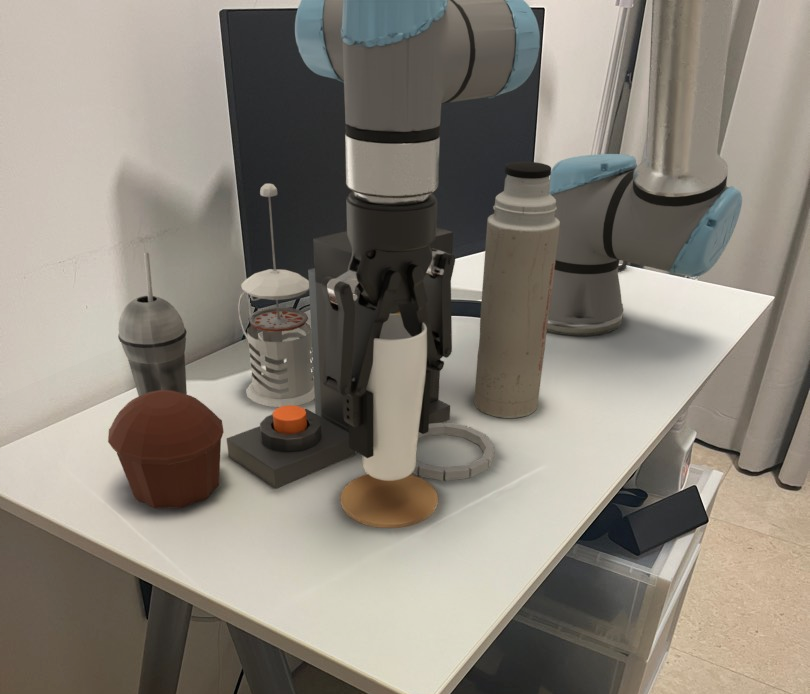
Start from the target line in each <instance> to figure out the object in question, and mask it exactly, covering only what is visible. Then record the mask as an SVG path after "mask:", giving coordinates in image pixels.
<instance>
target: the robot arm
mask: <svg viewBox="0 0 810 694" xmlns="http://www.w3.org/2000/svg"><path fill="white" fill-rule="evenodd" d="M651 5H652V6H651V27H650V29H651V30H650V49H649V51H650V53H649V56H650V57H649V73H648V75H649V76H648V77H649V79H648V82H649V83H648V100H647V101H648V102H647V123H646V129H647V130H646V147H645V158H644V159H643V160H642V161H641V162H640V163H639V164H638V163H637V159H636V157H635V156H633V155H629V154H625V153H624V154H622V153H601V154H598V153H597V154H588V155H577V156H572V157H568V158H563V159H561V160H560V161H557V162H556V163H555V164H554V165H553V166H552V167H551V175H550V176H549V180H550V189H549V194H550V195H552V196H553V197H554V198H555V199H556V208H557V210H556V211H555V215H554V217H555V218H557V219H558V220H559V221H560V228H559V236H558V244H557V252H556V260H555V269H554V277H553V285H552V293H551V301H550V309H549V316H548V323H547V332H549V333H555V334H560V335H565V336H566V335H567V336H596V335H603V334H606V333H611V332H613V331H615V330H616V329H618V328H619V327H620V326H621V325H622V321H623V315H624V305H623V300H622V292H621V285H620V278H619V271H621V270H623V269H625V268H626V267H627V265H628V263H631V264H635V265H638V266H643V267H648V268H651V269H656V270H660V271H665V272H667V273H668V272H669V275H681V276H685V277H692V278H697V277H701V276H703V275H705V274H706V273H708V272H709V271H710V270H711V269H712V268H713V267H714V266H715V265H716V264H717V262H718V261H719V259H720V258H721V256H722V255H723V253H724V252H725V250H726V248H727V246H728V244H729V243H730V240H731V238H732V236H733V234H734V232H735V229H736V226H737V223H738V221H739V217H740V213H741V209H742V207H743V195H742V192H741V190H739V188H736V187H735V186H733V185H730V186H727V181H728V173H729V166H728V164H727V161H726V160H725V159H724V158H722V156H721V155H719V154H718V150H719V149H718V147H719V138H720V130H721V121H722V112H723V101H724V92H725V83H726V73H727V65H728V63H727V62H728V55H729V44H730V36H731V27H732V26H731V25H732V19H733V9H734V8H733V7H734V0H652V4H651ZM540 35H541V34H540V29H539V23H538V20H537V18H536V15H535V13H534V12H533V10H532V8H531V6H530V5H529V4H528V3H527V2H526V1H525V0H300V2H299V5H298V7H297V10H296V14H295V21H294V36H295V43H296V46H297V49H298V53H299V54H300V57H301V59H302V61H303V63H304V64H305V65H306V67H307V68H308V69H309V70H310V71H312V72H313V73H314V74H316V75H317V76H318V75H319V76H321V77H325V78H329V79H333V80H337V81H339V82H342V84H343V93H344V115H345V117H344V118H345V119H344V120H345V122H344V123H345V124H344V125H345V126H344V127H345V134H344V136H345V137H344V138H345V144H344V145H345V184H346V186H347V188H348V189H350V190H351V192H350V193H349V194H348V196H346V198H345V200H346V202H345V203H346V231H347V236H348V239H349V241H350V244H351V246H352V257H351V261H350V263H349V266H348V271H347V272H346V273H344V274H342V275H341V276H339V277H337V278H335V279H334V278H332V277H329V276H327V277H325V278H324V279H323V280H322V284H321V285H322V290H323V294H324V298H325V302H326V324H325V349H324V374H323V384H324V385H325V386H326V387H328V388H330V389H332V390H334V391H335V392H337V393H339V394H341V395H343V412H344V413H343V418H344V420H345V422H346V423H348V424H349V448H351V449H352V450H354V451H356V453H357V454H359V455H361V456H362V455H363V456H364V457H366V458H370V457H372V456H373V393H372V392H370V391H368V390H366V389H367V385H368V381H369V377H370V373H371V369H372V365H373V349H374V339H375V338H377V339H379V337H380V333H381V329H382V325H383V323H384V322H386V321H387V320H388V318H389V315H390V311H391V308H392V307H394V306H395V305H397V304H398V307H399V310H400V314H401V318H402V321H403V325H404V328H405V329H406V330H407V332H408V333H409V334H410V335H411V336H412V337H414V336H416V335H418V334H420V333H421V332H422V323H425V325H426V327H427V366H426V377H425V385H424V393H423V401H422V409H421V417H420V425H419V432H420V433H422V434H425V433H427V432H428V429H429V405H430V397H431V396H432V394H433V391H434V386H433V385H434V370H436V371H440V372H441V371H442V370H443V368H444V366H445V361H444V360H441V359H442V358H449V357H450V356H451V355H452V352H453V331H452V330H453V328H452V327H453V325H452V321H453V320H452V278H453V273H454V269H455V263H456V256H455V255H454V254H453V253H452V254H449V253H446V252H443V251H440V250H437V249H434V248H432V249H431V248H430V244H431V243H432V242H433V241H434V240H435V237H436V227H437V223H438V221H437V220H438V219H437V217H438V199H437V197H436V196H435V195H434V192H435V191H436V190H437V189H438V188H439V171H440V143H441V142H440V141H441V118H442V117H441V115H442V105H444V104H449V103H453V102H454V103H455V102H462V101H469V100H476V99H482V98H483V99H484V98H487V99H494V98H496V97H497V96H500V95H502V94H507V93H509V92H512V91H514V90H516V89H517V88H519V87H520V86H522V85H524V83H525V82H526V81H527V80H528V79H529V77H530V76H531V74H532V72H533V70H534V69H535V66H536V64H537V61H538V59H539V52H540V48H541V47H540V42H541V41H540V40H541V39H540V38H541V37H540ZM620 261H622V264H620ZM356 287H357V292H356V294H355V288H356ZM368 303H369V304H371V305H374V306H376V307H377V308H376V309H375V308H373V307H371V306H369V304H368ZM438 338H440V341H438ZM353 378H355V379H353Z"/></svg>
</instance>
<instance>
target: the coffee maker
mask: <svg viewBox="0 0 810 694" xmlns="http://www.w3.org/2000/svg"><path fill="white" fill-rule="evenodd" d="M312 240H313V258H314V259H313V261H314V264H313V265H314V267H313V268H309V269H308V270H307V272H308V273H307V274H308V281H309V290H308V295H309V310H310V311H309V312H310V315H309V316H310V328H311V335H312V348H311V349H312V354H313V357H312V360H313V374H314V376H313V379H314V394H315V399H314V411H315V412H314V413H315V414H316V415H318V416H320V417H322V418H323V419H325V420H327V421H329V422H331V423H332V424H334V425H336V426H338V427H339V428H341V429H343V430H345V431H346V432H348V433H349V424H348V423H346V422H345V420H344V418H343V413H344V412H343V395H341V394H339V393H337V392H335V391H334V390H332V389H330V388H328V387H326V386H325V385H324V384H323V374H324V349H325V324H326V302H325V298H324V294H323V290H322V285H321V284H322V280H323V279H324V278H325V277H327V276H329V277H332V278H334V279H335V278H337V277H339V276H341V275H342V274H344V273H346V272H347V271H348V266H349V263H350V261H351V257H352V246H351V244H350V241H349V239H348V236H347V230H345V231H341V232H337V233H332V234H327V235H324V236H319V237H315V238H313V239H312ZM453 243H454V232H453V231H450V230H448V229H444V228H441V227H438V226H436V237H435V240H434V241H433V242H432V243H431V244H430V248H431V249H432V248H434V249H437V250H440V251H443V252H446V253H449V254H452V255H453V246H454V245H453ZM356 292H357V287H356V288H355V294H356ZM368 304H369V303H368ZM369 306H371V307H373V308H375V309H376V308H377V307H376V306H374V305H371V304H369ZM390 314H400V310H399V307H398V304H397V305H395V306H394V307H392V308H391V311H390ZM438 341H440V338H438ZM440 378H441V370H440V371H436V370H434V385H433V386H434V391H433V394H432V396H431V397H430V405H429V429H428V432H427V433H425V434H422V433H420V432H419V433H418V440H419V439H421V438H424V437H430V436H440V435H446V436H452V437H456V438H457V437H458V438H463V439H466V440H468V441H470V442H472V443H474V444H476V445H478V446H479V448H480V449H481V451H482V455H481V457H480V458H478V459H476V460H473V461H472V462H470V463H468V464H465V465H455V466H446V467H445V466H440V465H439V466H438V465H434V464H433V465H432V464H427V463H423V462H421V461H419V460H417V459H416V466H415V469H414V471H413V472H412V475H414V476H418V477H419V478H425V479H432V480H436V481H454V480H455V481H456V480H465V479H470V478H473V477H475V476H478V475H480V474H481V473H484V472H485V471H487V470H489V469H490V467H491V465H492V463H493V460H494V458H495V453H496V449H495V448H496V447H495V445H494V444H493V442H492V440H491V439H490V437H489V436H488V435H487V434H485V433H483V432H481V431H479V430H477V429H475V428H473V427H471V426H468V425H465V424H458V423H452V422H447V421H450V419H451V405H450V404H448V403H446V402H444V401H442V400H440V399H439V398H440V380H441V379H440ZM353 379H355V378H353Z"/></svg>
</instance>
